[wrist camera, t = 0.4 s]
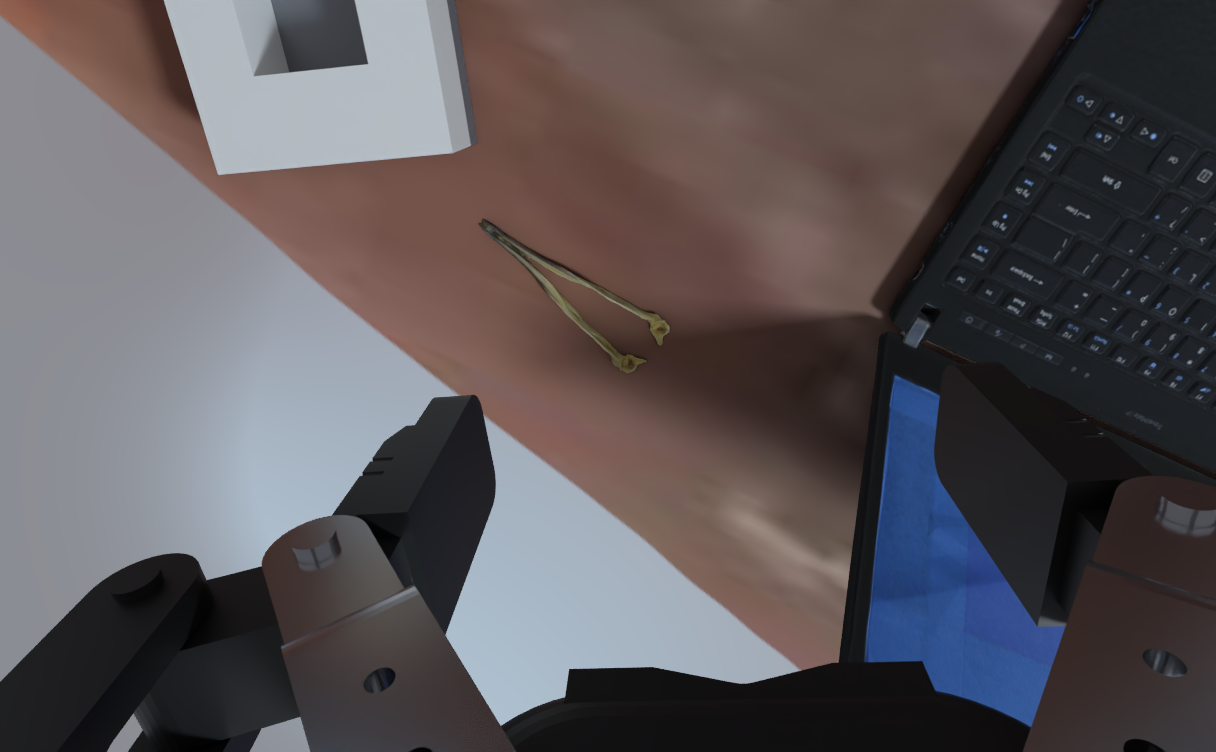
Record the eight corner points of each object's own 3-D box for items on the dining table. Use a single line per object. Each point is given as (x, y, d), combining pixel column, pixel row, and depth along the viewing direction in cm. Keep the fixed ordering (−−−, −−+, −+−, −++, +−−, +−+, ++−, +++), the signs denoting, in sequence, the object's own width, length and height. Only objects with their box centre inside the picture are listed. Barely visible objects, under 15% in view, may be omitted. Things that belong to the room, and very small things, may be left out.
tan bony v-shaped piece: (492, 200, 39) (485, 208, 37) (675, 319, 42) (677, 331, 40) (458, 259, 41) (449, 269, 39) (637, 369, 44) (637, 384, 42)
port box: (179, -139, 33) (102, -172, 28) (426, -173, 32) (388, -215, 27) (265, 163, 38) (212, 175, 34) (477, 143, 37) (452, 153, 33)
